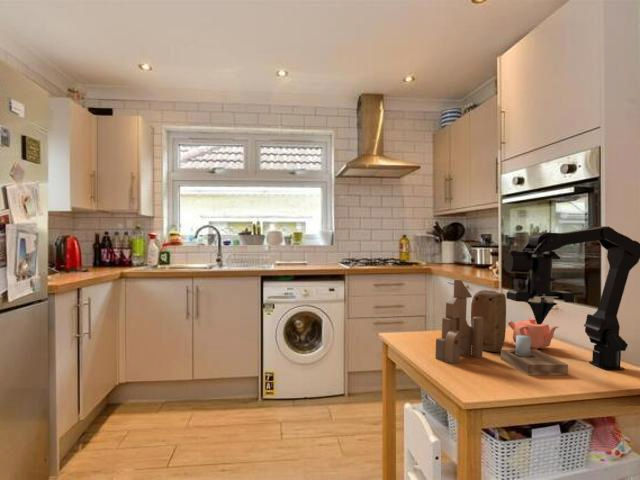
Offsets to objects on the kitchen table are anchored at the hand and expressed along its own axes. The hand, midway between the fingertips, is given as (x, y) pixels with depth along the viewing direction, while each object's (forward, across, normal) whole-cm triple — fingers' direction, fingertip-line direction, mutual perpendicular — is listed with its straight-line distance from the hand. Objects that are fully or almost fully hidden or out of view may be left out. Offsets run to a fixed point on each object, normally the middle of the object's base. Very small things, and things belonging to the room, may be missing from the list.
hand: (539, 324), depth 119 cm
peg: (+12, +5, 0) cm, 13 cm away
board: (+12, +3, +2) cm, 13 cm away
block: (+13, +8, -16) cm, 22 cm away
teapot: (+13, -10, -18) cm, 24 cm away
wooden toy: (+13, +22, -6) cm, 26 cm away
